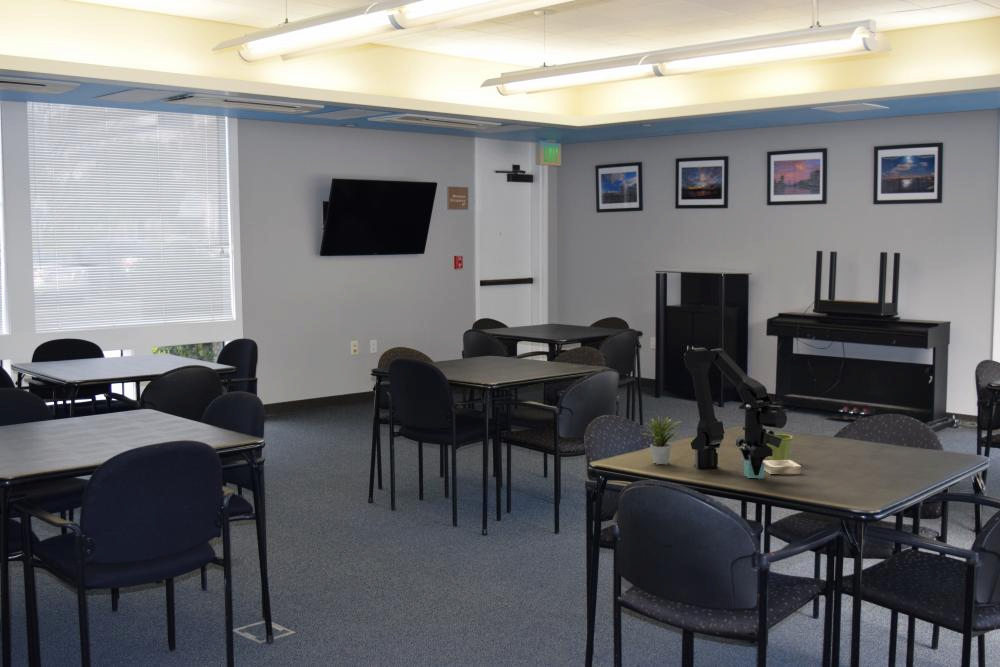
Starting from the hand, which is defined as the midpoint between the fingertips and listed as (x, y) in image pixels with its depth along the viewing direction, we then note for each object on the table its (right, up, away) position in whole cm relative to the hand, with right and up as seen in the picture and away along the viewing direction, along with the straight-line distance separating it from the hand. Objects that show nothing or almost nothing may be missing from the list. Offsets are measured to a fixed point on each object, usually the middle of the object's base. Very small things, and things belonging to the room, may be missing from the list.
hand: (753, 473), depth 317 cm
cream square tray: (+11, 0, +8) cm, 13 cm away
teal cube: (0, -1, 0) cm, 1 cm away
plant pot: (+14, +1, +22) cm, 26 cm away
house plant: (-25, 0, +21) cm, 33 cm away
